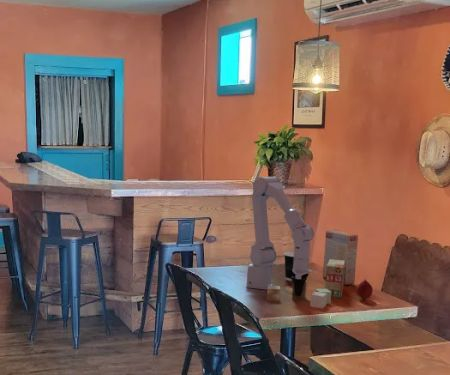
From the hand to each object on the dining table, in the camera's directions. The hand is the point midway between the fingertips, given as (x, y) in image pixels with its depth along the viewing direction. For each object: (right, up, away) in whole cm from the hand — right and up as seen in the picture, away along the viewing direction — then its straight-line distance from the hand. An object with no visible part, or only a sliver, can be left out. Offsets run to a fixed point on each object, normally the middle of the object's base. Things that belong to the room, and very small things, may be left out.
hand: (299, 293), depth 232 cm
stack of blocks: (+16, -1, +14) cm, 21 cm away
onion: (+25, -3, +3) cm, 25 cm away
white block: (+6, -3, -9) cm, 11 cm away
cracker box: (+20, 0, +29) cm, 35 cm away
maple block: (-10, -2, -3) cm, 10 cm away
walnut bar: (0, -2, 0) cm, 2 cm away
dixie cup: (0, +1, +28) cm, 28 cm away
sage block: (+8, -3, -4) cm, 9 cm away
